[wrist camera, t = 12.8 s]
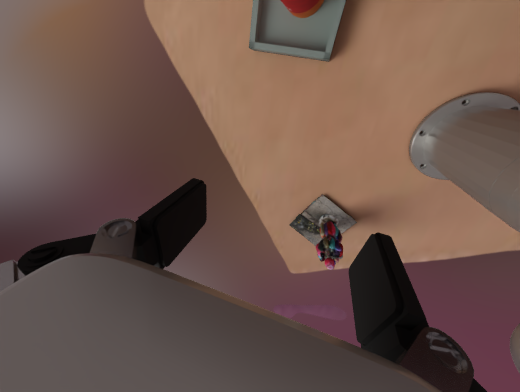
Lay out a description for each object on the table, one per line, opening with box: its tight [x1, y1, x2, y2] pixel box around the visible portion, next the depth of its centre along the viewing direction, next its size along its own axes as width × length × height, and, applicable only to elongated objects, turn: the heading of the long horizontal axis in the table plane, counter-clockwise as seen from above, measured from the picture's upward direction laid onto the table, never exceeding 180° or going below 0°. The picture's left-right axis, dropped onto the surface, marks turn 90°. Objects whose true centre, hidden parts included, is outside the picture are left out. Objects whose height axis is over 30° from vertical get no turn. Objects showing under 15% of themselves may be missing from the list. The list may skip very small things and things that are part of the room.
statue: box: [290, 195, 357, 270], centre depth 37 cm, size 11×9×15 cm
